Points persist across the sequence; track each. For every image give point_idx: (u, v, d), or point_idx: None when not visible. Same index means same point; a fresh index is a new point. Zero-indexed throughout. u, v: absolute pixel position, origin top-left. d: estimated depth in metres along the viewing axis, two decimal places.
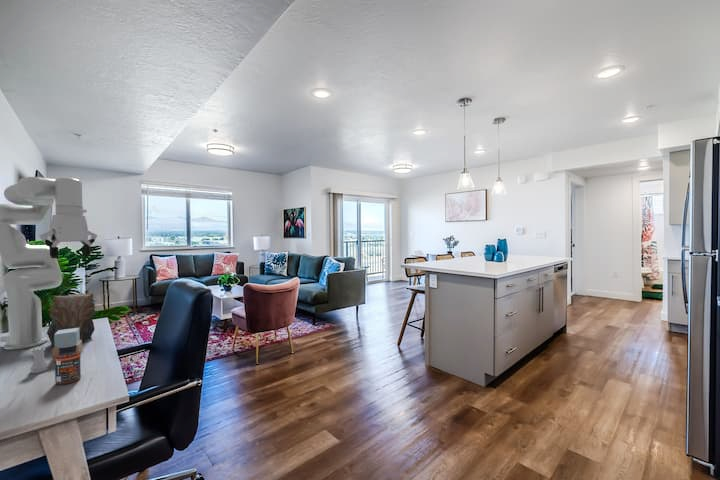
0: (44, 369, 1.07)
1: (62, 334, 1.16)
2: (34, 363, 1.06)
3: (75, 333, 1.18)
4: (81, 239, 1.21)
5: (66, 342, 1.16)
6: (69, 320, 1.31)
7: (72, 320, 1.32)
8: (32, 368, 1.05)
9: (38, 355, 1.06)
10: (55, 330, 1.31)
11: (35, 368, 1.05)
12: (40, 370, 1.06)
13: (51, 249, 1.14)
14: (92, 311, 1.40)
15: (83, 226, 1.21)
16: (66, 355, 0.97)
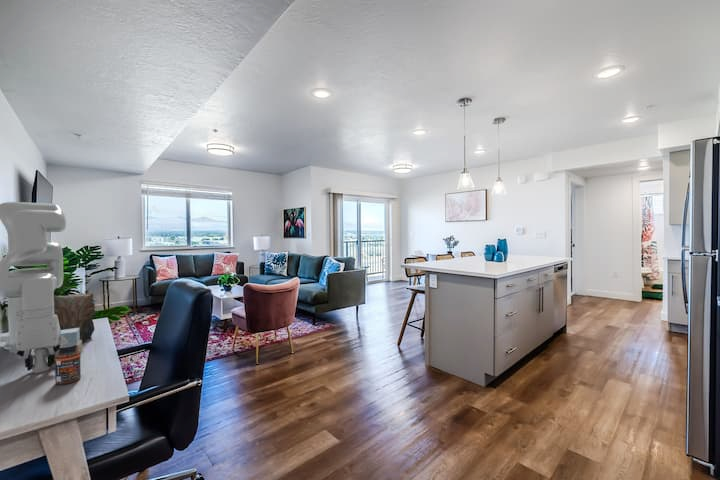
0: (45, 369, 1.07)
1: (62, 334, 1.16)
2: (35, 363, 1.06)
3: (75, 333, 1.18)
4: None
5: None
6: (69, 320, 1.31)
7: (72, 320, 1.32)
8: (33, 368, 1.05)
9: (39, 355, 1.06)
10: None
11: (37, 368, 1.05)
12: (41, 370, 1.06)
13: (54, 355, 1.09)
14: (92, 311, 1.40)
15: None
16: (66, 355, 0.97)
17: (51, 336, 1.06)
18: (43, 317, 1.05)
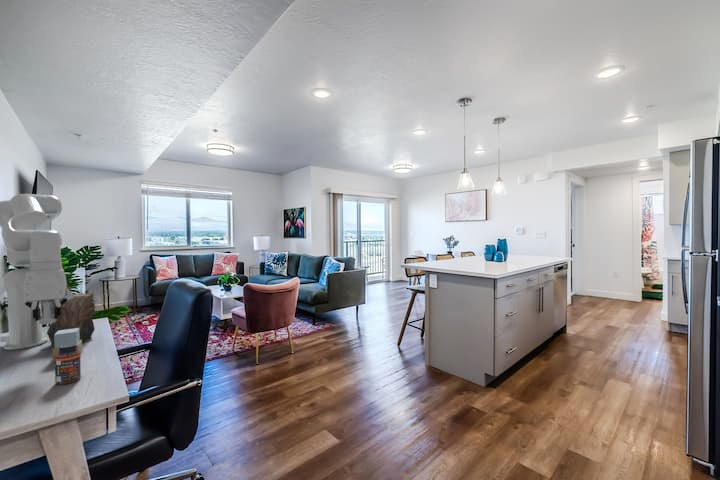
0: (52, 321, 1.10)
1: (62, 334, 1.16)
2: (43, 314, 1.09)
3: (75, 333, 1.18)
4: None
5: (66, 342, 1.16)
6: (69, 320, 1.31)
7: (72, 320, 1.32)
8: (41, 319, 1.08)
9: (46, 307, 1.09)
10: (55, 330, 1.31)
11: (44, 319, 1.08)
12: (48, 321, 1.09)
13: (61, 308, 1.12)
14: (92, 311, 1.40)
15: None
16: (66, 355, 0.97)
17: (58, 289, 1.09)
18: (50, 270, 1.08)
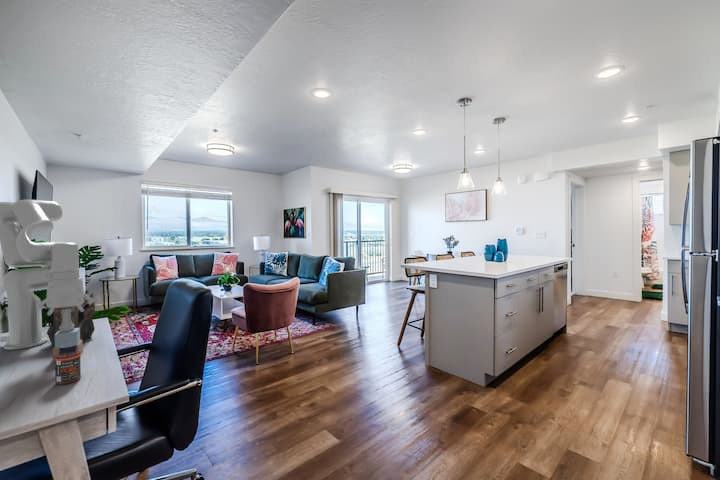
0: (71, 329, 1.19)
1: (62, 334, 1.16)
2: (62, 323, 1.17)
3: (75, 333, 1.18)
4: None
5: (66, 342, 1.16)
6: None
7: (72, 320, 1.32)
8: (61, 327, 1.17)
9: (66, 316, 1.18)
10: (55, 330, 1.31)
11: (64, 327, 1.17)
12: (68, 329, 1.18)
13: None
14: (92, 311, 1.40)
15: None
16: (66, 355, 0.97)
17: (77, 296, 1.18)
18: (70, 279, 1.16)
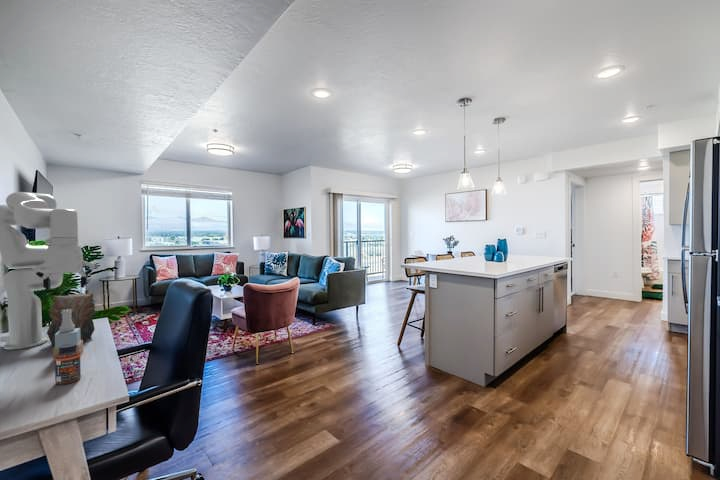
0: (71, 329, 1.18)
1: (62, 334, 1.15)
2: (63, 323, 1.17)
3: (75, 333, 1.17)
4: None
5: (66, 342, 1.16)
6: None
7: (72, 320, 1.32)
8: (61, 327, 1.17)
9: (66, 316, 1.17)
10: (55, 330, 1.31)
11: (64, 328, 1.17)
12: (68, 329, 1.17)
13: (86, 278, 1.22)
14: (92, 311, 1.40)
15: None
16: (66, 355, 0.97)
17: (76, 263, 1.18)
18: (69, 245, 1.16)
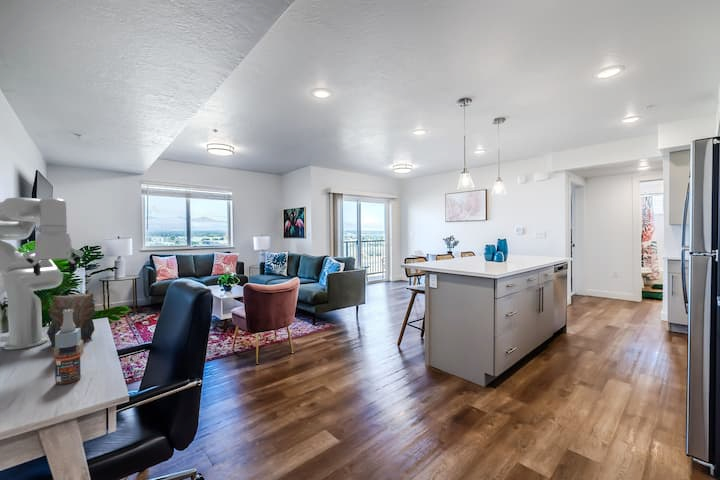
0: (72, 329, 1.18)
1: (63, 334, 1.15)
2: (63, 323, 1.17)
3: (76, 333, 1.17)
4: None
5: (67, 342, 1.16)
6: None
7: None
8: (61, 327, 1.16)
9: (67, 316, 1.17)
10: (55, 330, 1.31)
11: (64, 328, 1.16)
12: (68, 330, 1.17)
13: (74, 265, 1.27)
14: (92, 311, 1.40)
15: None
16: (66, 355, 0.97)
17: (64, 250, 1.24)
18: (58, 232, 1.22)
